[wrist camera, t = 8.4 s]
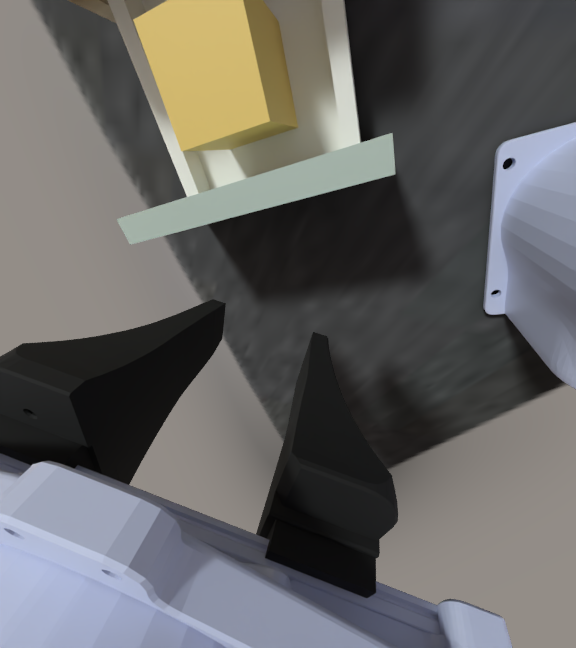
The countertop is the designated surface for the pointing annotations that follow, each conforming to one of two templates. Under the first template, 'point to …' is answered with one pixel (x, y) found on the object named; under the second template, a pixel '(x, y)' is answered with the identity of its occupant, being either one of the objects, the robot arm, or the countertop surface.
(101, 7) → the beige wooden rectangular box
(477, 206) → the countertop surface
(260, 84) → the block
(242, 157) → the pale green drawer
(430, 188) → the countertop surface
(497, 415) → the countertop surface
